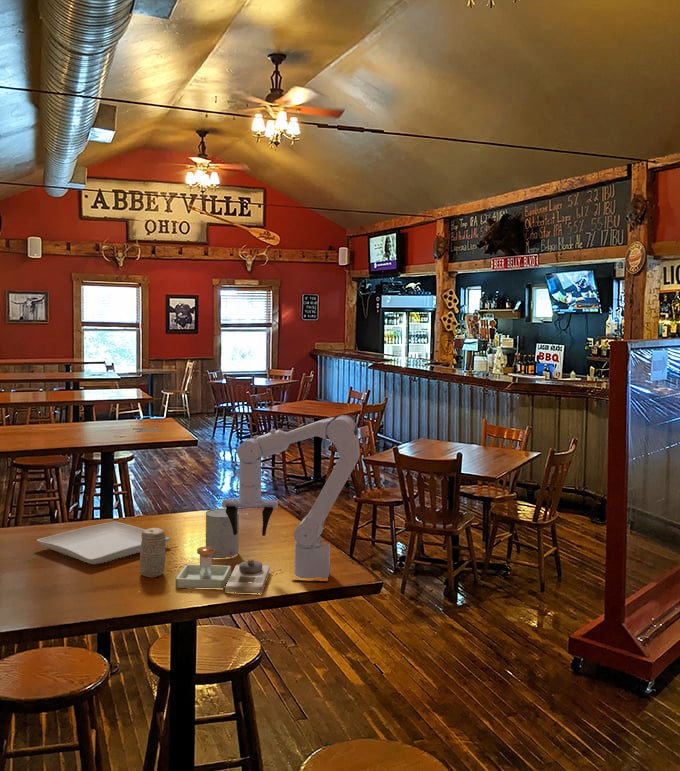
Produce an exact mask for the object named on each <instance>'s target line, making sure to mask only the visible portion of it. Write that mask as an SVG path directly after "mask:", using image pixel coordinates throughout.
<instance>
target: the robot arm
mask: <svg viewBox="0 0 680 771" xmlns="http://www.w3.org/2000/svg"><path fill="white" fill-rule="evenodd" d="M359 432H360V431H359V428H358V426H357V424H356V422H355V420H354V418H353V417H351V416H350V415H346V414H345V415H343V414H341V415H338V416H336V418H335V416H334V417H328V418H323V419H320V420H317V421H313V422H312V423H309V424H306V425H304V426H303V425H302V426H300V427H298V428H295V429H293V430H289V431H284V430H282V429H276V428H272V429H270V430H269V432H268V433H264V434H262V435H258V434H256V435H254V436H253V437H251V438H248V439H246V440H244V441H243V442H241V443H240V444H239V445H238V447H237V449H236V454H237V457H238V458H239V476H238V479H239V482H238V483H239V486H238V488H239V491H238V492H239V493H238V496H239V497H238V498H237V497H236V498H223V499H222V502H221V508H226V514H227V516H228V518H229V520H230V522H231V525H232V529H233V535H236V534H237V529H238V528H237V512H238V511H239V508H243V509H244V508H245V509H263V510H262V528H261V530H262V532H261V535H262V537H264V536H266V535H267V528H268V524H269V521H270V519H271V516H272V513H273V511H274V510H277V509H278V508H279V507H278V506H279V505H278V504H279V501H278V500H275V499H265V498H262V458H267V457H269V456H273V455H275V454H280V453H282V452H284V451H287V450H288V449H289V447H290V444H293V443H297V442H300V441H304V440H308V439H310V438H315V437H319V438H321V439H324V440H326V439H329V441H330V442H331V443H332V444H333V445H334V447H335V448H336V451H337V453H338V456H339V458H338V460H337V462H336V463H335V466H334V467H333V469H332V471H331V472H330V475H329V476H328V478H327V479H326V482H325V484H324V485H323V487H322V489H321V491H320V493H318V494H319V495H318V496H317V498H316V500H315V501H314V503H313V505H312V506H311V508H310V511H309V512H308V513H307V515H306V516H304V517H303V518H302V520H301V522H299V523H300V524H299V525H297V526H296V527H295V529H294V532H293V538H294V540H295V541H294V543H295V544H294V547H295V548H294V555H295V556H294V570H295V575H296V576H298V577H300V578H315V577H322V578H327V577H329V578H330V573H331V570H332V569H331V568H332V566H331V565H330V562H331V561H330V560H331V559H330V558H331V544H327V543H324V542H323V540H322V538H321V535H322V533H323V531H324V528H325V527H324V526H325V525H324V524H325V522H326V519H327V517H328V515H329V513H330V511H331V509H332V508H333V506H334V504H335V502H336V501H337V499H338V497H339V495H340V494H341V491H342V490H343V488H344V486H345V484H346V483H347V480H348V479H349V477H350V475H351V474H352V472H353V470H354V468H355V466H356V464H357V463H358V462H359V459H360V457H361V452H360V439H359V434H360V433H359ZM329 572H330V573H329Z"/></svg>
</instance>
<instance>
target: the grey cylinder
mask: <svg viewBox="0 0 680 771" xmlns="http://www.w3.org/2000/svg"><path fill="white" fill-rule="evenodd" d="M239 524H240V511H239V510H238V512H237V528H238V529H237V534H236V535H233V529H232V525H231V522H230V520H229V518H228V516H227V514H226V508H222V507H221V508H212V509H209V510H207V511H205V547H213V548H214V549H215V551H214V553H213V554H212V558H226V557H232V556H234V555H236V554H238V552H239V551H240V550H239V549H240V548H239V547H240V546H239V545H240V544H239V543H240V542H239V537H240V536H239V533H240V531H239V530H240V525H239Z"/></svg>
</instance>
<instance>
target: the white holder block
mask: <svg viewBox="0 0 680 771" xmlns="http://www.w3.org/2000/svg"><path fill="white" fill-rule="evenodd" d="M269 571H271V565H267V564H265V565H263V563H262V562H260V561H256V560H254V559H253V558H252V559H251V558H250V559H247V560H246V561H242V562H240V563H239V564H236V565H235V566H234V569H233V570H232V571H231V576H230V578H229V580H228V582H227V584H226V586H225V588H224V590H225V591H224V592H234V593H235V592H236V593H257V594H258V593H260V594H261V593H262V591H263V592H264V590H263V588H264V589H265V587H264V585H265V582H266V579H267V577H268V578H269V576H268V574H269ZM269 575H270V574H269ZM267 580H268V579H267ZM248 582H252V583H248ZM266 583H267V582H266ZM265 586H266V585H265ZM262 594H263V593H262Z"/></svg>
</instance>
